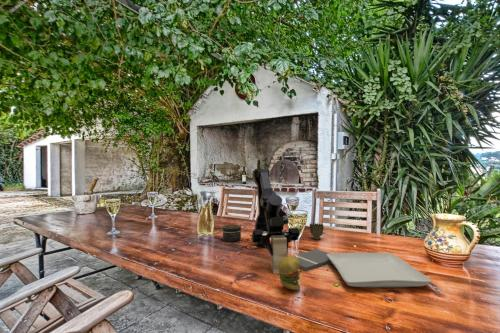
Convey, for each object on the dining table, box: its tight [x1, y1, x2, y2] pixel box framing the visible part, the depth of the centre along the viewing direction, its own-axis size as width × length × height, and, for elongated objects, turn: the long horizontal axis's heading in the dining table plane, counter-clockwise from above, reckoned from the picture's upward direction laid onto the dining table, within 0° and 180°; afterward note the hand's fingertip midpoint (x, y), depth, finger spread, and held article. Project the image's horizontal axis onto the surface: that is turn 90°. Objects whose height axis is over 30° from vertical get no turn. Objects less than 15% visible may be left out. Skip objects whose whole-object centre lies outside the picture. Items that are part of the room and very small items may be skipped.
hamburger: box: [278, 254, 301, 291], centre depth 90 cm, size 8×7×12 cm
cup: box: [309, 222, 324, 241], centre depth 149 cm, size 8×7×8 cm
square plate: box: [326, 252, 433, 288], centre depth 100 cm, size 27×27×4 cm
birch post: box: [270, 235, 288, 275], centre depth 105 cm, size 5×5×13 cm
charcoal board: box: [292, 248, 333, 272], centre depth 115 cm, size 13×20×2 cm, turn 124°
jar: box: [222, 224, 242, 244], centre depth 149 cm, size 10×10×8 cm
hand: (279, 254), depth 104 cm, fingers closed on birch post, 5 cm apart
